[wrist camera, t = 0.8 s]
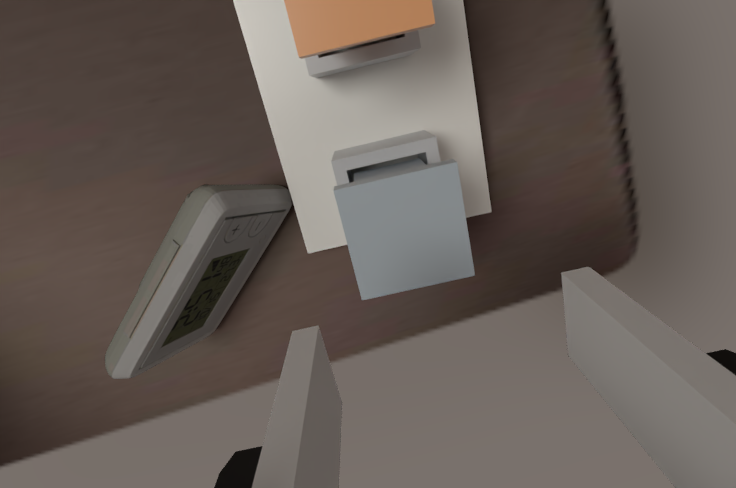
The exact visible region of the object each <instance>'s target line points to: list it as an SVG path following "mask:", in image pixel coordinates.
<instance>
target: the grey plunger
mask: <svg viewBox="0 0 736 488" xmlns="http://www.w3.org/2000/svg"><path fill="white" fill-rule="evenodd" d="M333 191H334V195H335V199H336V202H337V206H338V210H339V214H340V218H341V222H342V225H343V229H344V233H345V237H346V241H347V245H348V249H349V252H350V256H351V260H352V264H353V268H354V272H355V275H356V279H357V283H358V287H359V291H360V295H361V298H362V300H366V299H370V298H375V297H380V296H384V295H389V294H393V293H398V292H402V291H407V290H412V289H416V288H421V287H425V286H430V285H434V284H439V283H443V282H448V281H453V280H457V279H462V278H466V277H471V276H475V273H474V266H473V260H472V254H471V247H470V241H469V234H468V228H467V222H466V215H465V209H464V203H463V196H462V190H461V184H460V177H459V171H458V164H457V161H455V160H454V159H449V160H445V161H441V162H436V163H432V164H428V165H426V164H425V163H424V162H423V161H422V160H421V159H420V158H417V159H413V160H409V161H405V162H400V163H396V164H392V165H387V166H383V167H379V168H375V169H370V170H366V171H362V172H357V173H354V182H351V183H346V184H342V185H338V186H334V190H333Z"/></svg>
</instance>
